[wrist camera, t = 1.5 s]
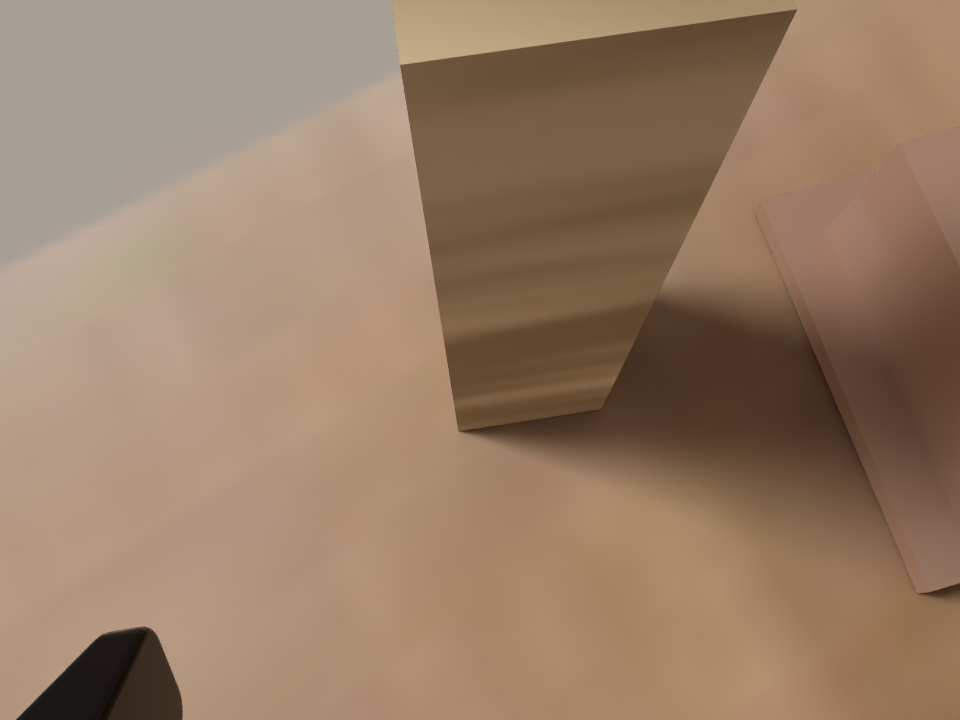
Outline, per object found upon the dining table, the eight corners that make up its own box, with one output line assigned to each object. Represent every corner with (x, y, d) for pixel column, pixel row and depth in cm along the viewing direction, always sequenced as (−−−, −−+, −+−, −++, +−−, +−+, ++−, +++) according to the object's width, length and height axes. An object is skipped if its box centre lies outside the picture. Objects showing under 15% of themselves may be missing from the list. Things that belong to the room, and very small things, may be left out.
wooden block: (601, 409, 21) (798, 9, 8) (458, 431, 21) (400, 65, 7) (574, 277, 22) (703, -278, 9) (438, 297, 22) (355, -234, 8)
